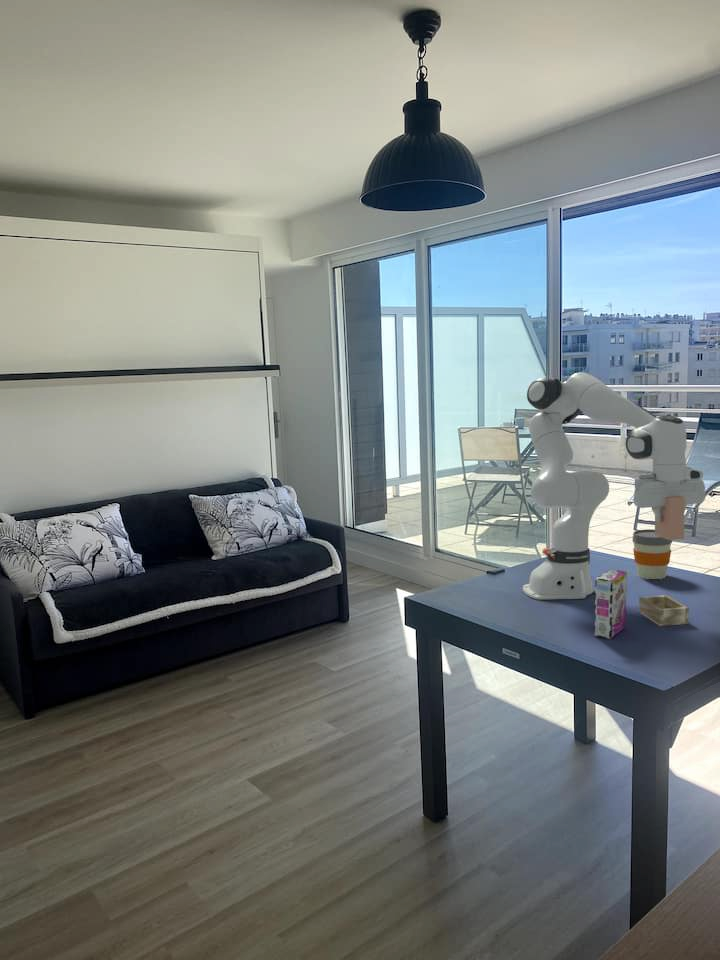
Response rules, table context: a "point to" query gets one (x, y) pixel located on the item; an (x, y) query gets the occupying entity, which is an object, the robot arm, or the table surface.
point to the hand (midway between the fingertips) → (669, 520)
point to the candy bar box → (610, 603)
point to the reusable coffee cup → (651, 554)
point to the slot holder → (663, 610)
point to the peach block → (671, 519)
